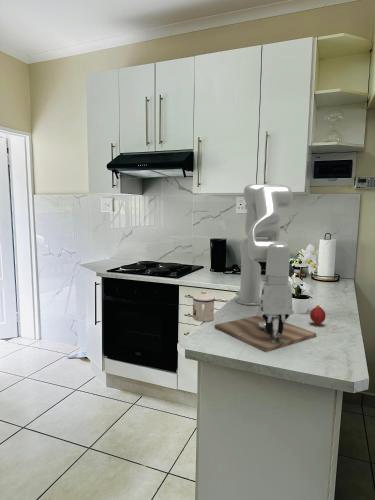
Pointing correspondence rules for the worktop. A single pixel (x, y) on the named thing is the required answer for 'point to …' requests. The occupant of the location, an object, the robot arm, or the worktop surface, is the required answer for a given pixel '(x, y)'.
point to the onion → (317, 315)
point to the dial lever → (274, 327)
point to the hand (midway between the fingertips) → (274, 332)
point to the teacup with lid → (203, 307)
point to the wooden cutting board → (263, 333)
